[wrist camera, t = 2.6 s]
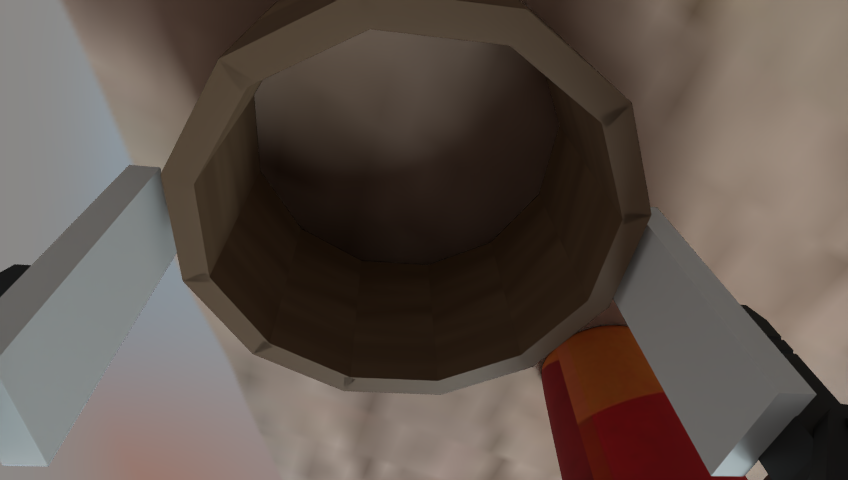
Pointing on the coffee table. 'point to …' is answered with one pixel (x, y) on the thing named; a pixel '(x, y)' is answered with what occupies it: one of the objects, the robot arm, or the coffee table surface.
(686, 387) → the robot arm
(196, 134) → the ring
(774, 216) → the coffee table surface
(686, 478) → the coffee cup
